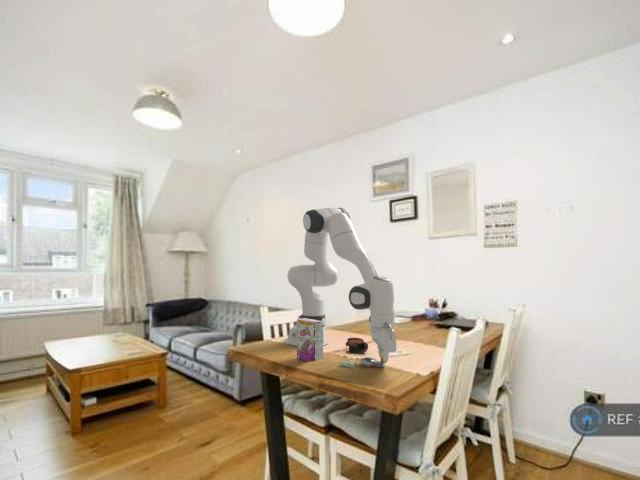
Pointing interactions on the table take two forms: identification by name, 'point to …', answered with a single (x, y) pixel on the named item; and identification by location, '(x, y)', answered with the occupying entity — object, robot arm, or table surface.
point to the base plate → (348, 364)
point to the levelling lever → (372, 361)
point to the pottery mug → (356, 345)
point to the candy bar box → (309, 339)
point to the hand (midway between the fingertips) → (383, 358)
